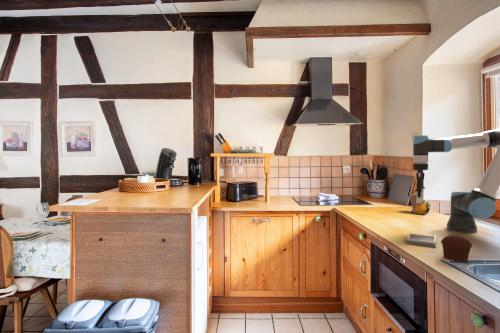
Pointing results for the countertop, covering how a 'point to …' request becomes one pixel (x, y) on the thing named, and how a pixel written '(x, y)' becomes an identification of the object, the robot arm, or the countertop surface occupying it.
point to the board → (421, 240)
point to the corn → (422, 207)
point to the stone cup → (414, 202)
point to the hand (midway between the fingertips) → (419, 201)
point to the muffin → (456, 248)
